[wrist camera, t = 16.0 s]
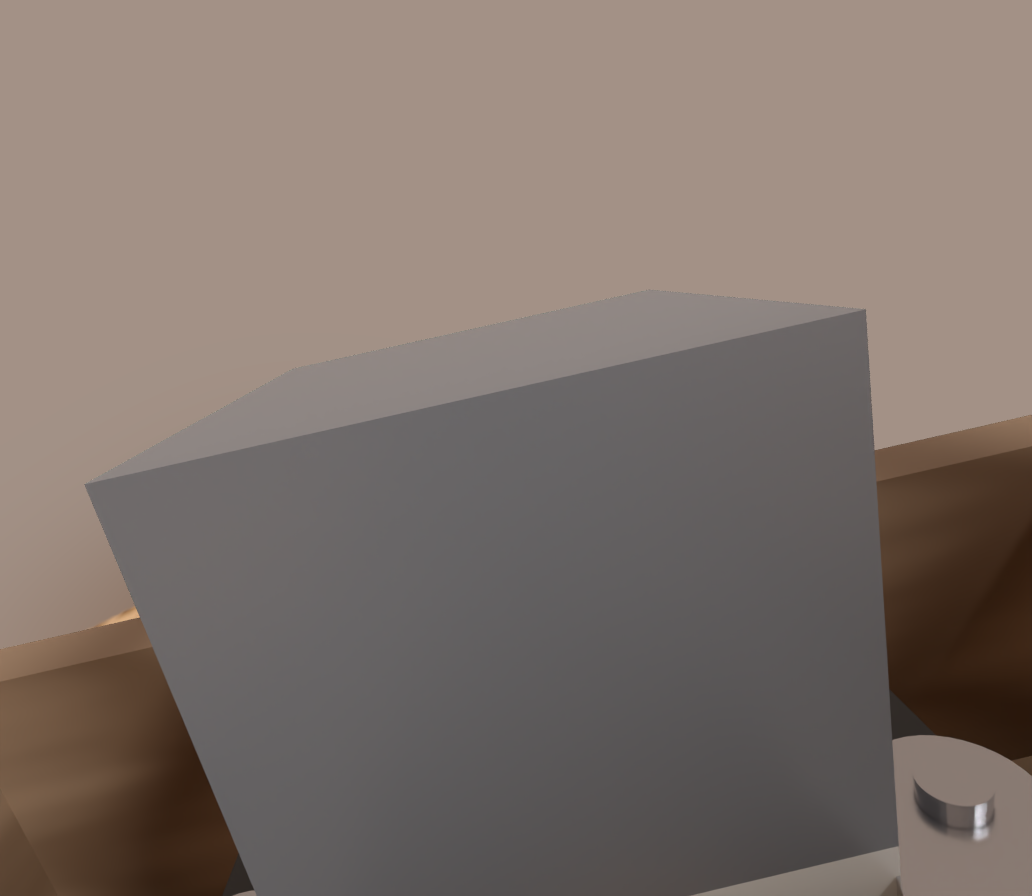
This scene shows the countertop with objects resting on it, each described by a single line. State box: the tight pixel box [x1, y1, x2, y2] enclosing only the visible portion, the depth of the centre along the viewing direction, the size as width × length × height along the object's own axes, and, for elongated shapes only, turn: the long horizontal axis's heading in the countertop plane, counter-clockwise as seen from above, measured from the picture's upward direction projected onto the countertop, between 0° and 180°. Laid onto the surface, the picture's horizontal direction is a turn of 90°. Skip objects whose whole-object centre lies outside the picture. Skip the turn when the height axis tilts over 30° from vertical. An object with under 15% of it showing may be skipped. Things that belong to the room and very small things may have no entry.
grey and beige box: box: [85, 290, 901, 896], centre depth 7 cm, size 4×5×12 cm
